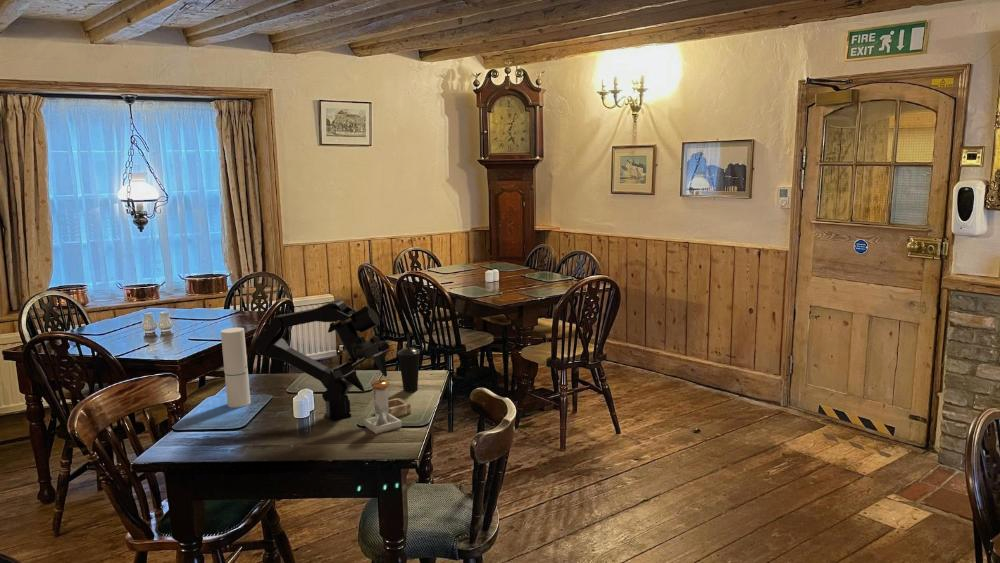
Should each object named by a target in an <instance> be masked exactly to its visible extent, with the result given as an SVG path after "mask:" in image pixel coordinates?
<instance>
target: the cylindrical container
mask: <svg viewBox="0 0 1000 563" xmlns="http://www.w3.org/2000/svg"><path fill="white" fill-rule="evenodd" d="M245 336H246V335H245V328H244V327H230V328H229V327H228V328H224V329H222V330H220V337H221V339H220V340H221V347H222V350H221V351H222V358H223V369H224V370H223V371H224V381H225V389H226V402H227V407H228V408H242V407H246V406H249V405H250V404H251V403H252V402H251V394H250V393H251V392H250V381H249V370H248V359H247V358H248V357H247V345H246V337H245Z"/></svg>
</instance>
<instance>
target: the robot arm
mask: <svg viewBox="0 0 1000 563" xmlns="http://www.w3.org/2000/svg"><path fill="white" fill-rule="evenodd" d="M349 319H350V320H349ZM337 321H338V322H337ZM313 322H321V323H330V324H329V328H328V330H327V332H328V333H331V332H335V333H336V335H337V337H338V339H339V340H340V342H341V344H342V346H341V348H342V350H343V351H344V350H345V351H346V353H347V355H348V361H347V362H344V363H342V364H340V365H338V364H337V365H336V366H335V367H332V368H331V367H328V366H326V365H325V364H322V363H321V362H319V361H317V360H315V359H314V358H311V357H309V356H307V355H305V354H304V353H302V352H299V351H298V350H296V349H295V348H293V347H291V346H289V344H288V343H287V341H286V340H285V339H284V338H283V336H284V335H285V332H286V328H288V327H289V328H290V327H293V326H297V325H298V326H299V325H304V324H309V323H313ZM379 325H380V318H379V315H378V313H377V312H376V311H375V310H374V309H373V308H371V307H370V305H369V304H367V305H365V306H363V307H362V308H360V309H359V310H356V309H355V308H352V307H351V306H349V305H347V304H346V303H345V301H343V300H342V299H335V300H332V301H330V302H327V303H324V304H323V305H320V306H318V307H314V308H309V309H306V310H300V311H295V312H291V313H285V314H284V313H282V314H279V315H276V316H275V317H273V318H272V319H271V321H270V323H269V325H268V326H267V327H266V328H265V330H264V331H263V332H262V334H261V336H260V337H258V338H257V339H256V340H255V342H254V350H255V352H256V353H257V355H259V356H261V357H262V356H263V357H266V358H268V359H273V360H274V359H275V360H280V361H282V362H284V363H285V364H288V365H290V366H291V367H294V368H295V369H297V370H298V371H301V372H302V373H305V374H307V375H308V376H311V377H312V378H314V379H316V380H318V381H319V382H320V383H321V385H322V386H323V387H324V388H325V389H326V390H325V391H324V392H323V393H322V395H321V397H322V400H323V401H324V402H325V413H324V414H323V415H324V416H325V417H327V419H329V420H330V421H332V422H333V421H338V420H341V419H344V418H349V417H352V414H351V400H350V399H349V395H348V394H349V392H350V389H352V387H355V388H357V389H358V390H359V391H360V392H364V391H365V388H364V386H363V384H362V383H361V380H360V379H359V377H358V376H357V370H354V367H356V366H358V365H360V364H361V363H363V362H365V361H366V360H369V359H371V358H372V360H373V361H374V363H375V365H376V366H377V367H378V369H379V371H380V373H381V374H382V375H383V376H384V377H385V378H386V377H388V371H387V366H386V355H387V354H388V353H389V349H390V348H391V345H390V344H389V343H388V341H386V340H382V341H381V340H380V338H379V337H378V336H376V335H374V336H372V337H370V338H369V340H366V338H365V337H364V336H360V334H359V332H360V333H362V334H363V333H365V332H367V331H369V330H371V329H372V328H375V327H377V326H379Z"/></svg>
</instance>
